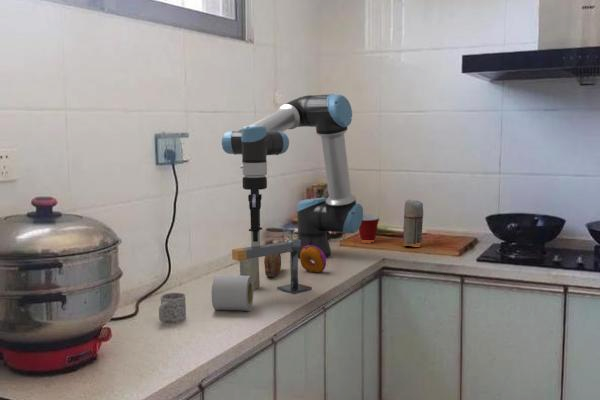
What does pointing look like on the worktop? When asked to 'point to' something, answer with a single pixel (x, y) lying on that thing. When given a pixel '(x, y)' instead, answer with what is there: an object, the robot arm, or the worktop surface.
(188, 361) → the worktop surface
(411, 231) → the grey thermos bottle
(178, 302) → the mug
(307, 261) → the donut
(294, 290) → the post
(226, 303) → the toilet paper
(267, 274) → the tin
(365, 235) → the plastic cup
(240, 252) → the bar
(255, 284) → the box
